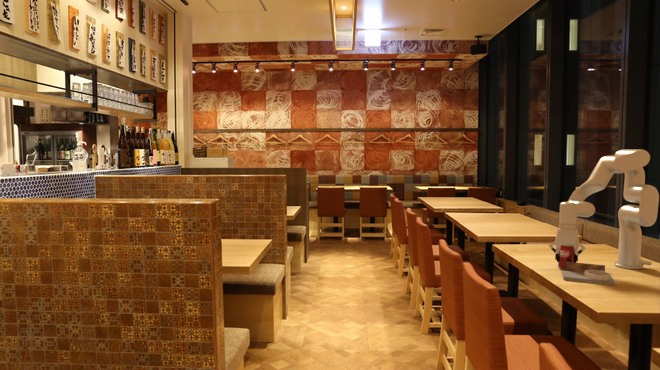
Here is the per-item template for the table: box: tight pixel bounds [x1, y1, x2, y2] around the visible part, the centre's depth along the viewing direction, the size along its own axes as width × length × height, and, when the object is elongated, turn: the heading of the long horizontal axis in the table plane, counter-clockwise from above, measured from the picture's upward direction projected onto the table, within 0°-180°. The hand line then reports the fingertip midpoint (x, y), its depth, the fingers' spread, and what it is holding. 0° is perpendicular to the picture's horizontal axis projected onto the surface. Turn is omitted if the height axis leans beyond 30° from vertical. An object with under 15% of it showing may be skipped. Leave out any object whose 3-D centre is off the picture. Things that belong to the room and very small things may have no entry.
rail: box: [565, 261, 606, 273], centre depth 218 cm, size 16×2×5 cm, turn 66°
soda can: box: [557, 245, 575, 271], centre depth 227 cm, size 7×7×12 cm
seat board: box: [561, 270, 616, 286], centre depth 209 cm, size 20×12×4 cm, turn 66°
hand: (566, 261), depth 227 cm, fingers closed on soda can, 7 cm apart
